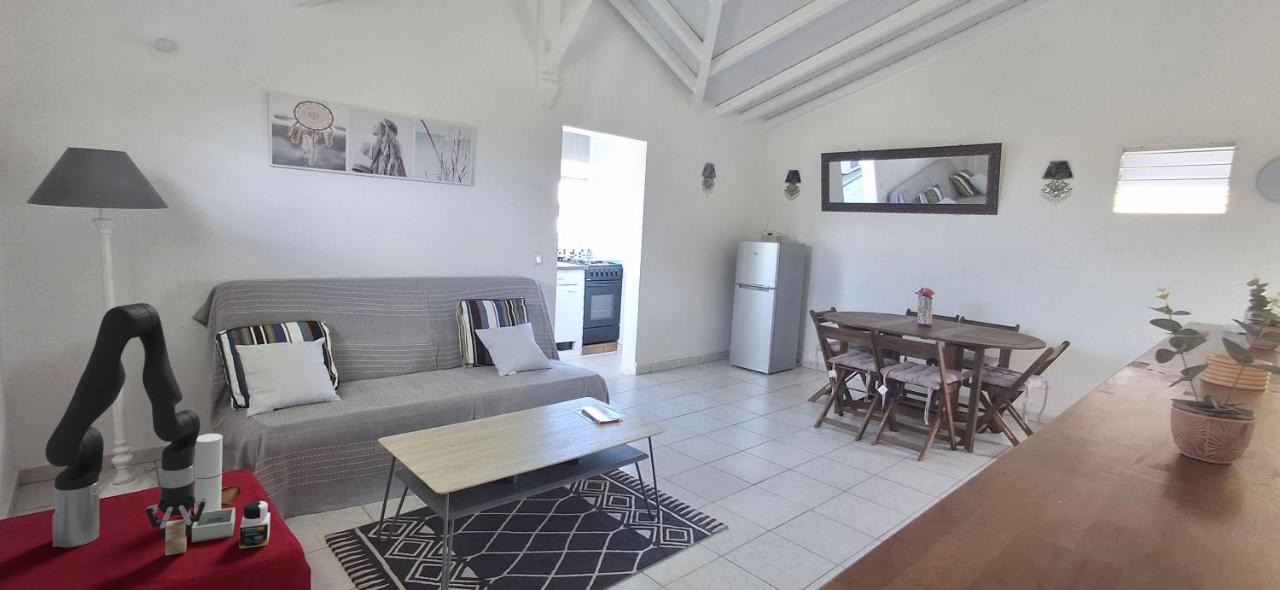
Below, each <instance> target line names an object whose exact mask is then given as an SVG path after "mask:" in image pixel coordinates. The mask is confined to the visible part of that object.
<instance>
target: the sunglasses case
mask: <svg viewBox="0 0 1280 590" xmlns="http://www.w3.org/2000/svg"><path fill="white" fill-rule="evenodd" d="M194 493H195V487H194ZM193 495H194V494H193ZM240 495H241V489H240V487H239V486H236V485H231V486H221V506H223V505H224V506H230V505H233V503H234V502H235V500H236V499H237V498H238V496H240ZM233 501H234V502H233Z"/></svg>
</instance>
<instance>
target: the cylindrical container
mask: <svg viewBox="0 0 1280 590" xmlns="http://www.w3.org/2000/svg"><path fill="white" fill-rule="evenodd" d="M223 437H224V436H223V435H222V434H220V433H205V434H202V435H198V438H197V441H196V444H195V447H194V488H195V493H194V497H195V499H196V500H202V499H206V504H205V506H204V509H203V512H204V511H212V510H220V509H222V505H221V487H223V486H222V485H223V484H222V480H223V479H222V477H223V475H222V474H223ZM197 510H198V508H196V504H194V507H193V513H194V516H195V515H196V513H197Z"/></svg>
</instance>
